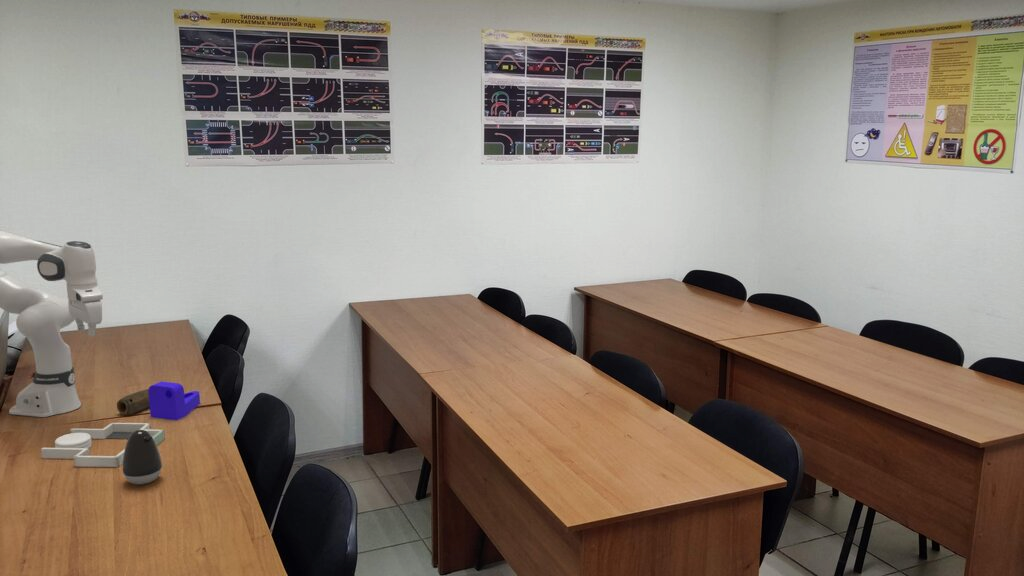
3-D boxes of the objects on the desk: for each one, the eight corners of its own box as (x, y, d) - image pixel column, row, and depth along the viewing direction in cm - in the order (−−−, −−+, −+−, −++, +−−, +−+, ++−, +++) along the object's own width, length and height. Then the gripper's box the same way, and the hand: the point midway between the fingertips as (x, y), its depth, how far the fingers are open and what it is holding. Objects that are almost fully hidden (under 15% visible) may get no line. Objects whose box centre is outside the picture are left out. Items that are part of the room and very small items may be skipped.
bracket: (176, 420, 277) (174, 387, 275) (150, 417, 280) (147, 384, 278) (210, 404, 294) (208, 372, 292) (185, 400, 297) (183, 370, 295)
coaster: (99, 444, 256) (98, 434, 255) (73, 456, 247) (71, 445, 246) (74, 440, 259) (73, 430, 259) (48, 452, 250) (46, 441, 249)
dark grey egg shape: (138, 492, 223) (133, 440, 220) (116, 483, 228) (111, 432, 225) (171, 478, 231) (167, 428, 228) (148, 470, 237) (144, 421, 234)
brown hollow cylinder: (132, 418, 279) (130, 399, 278) (115, 416, 281) (114, 397, 280) (162, 404, 293) (160, 386, 292) (146, 402, 295) (144, 384, 294)
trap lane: (31, 465, 239) (29, 456, 239) (82, 430, 267) (81, 422, 266) (131, 467, 239) (130, 457, 238) (172, 432, 266) (171, 423, 266)
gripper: (61, 288, 266) (65, 329, 269) (83, 297, 252) (87, 340, 255) (81, 286, 270) (85, 326, 273) (104, 295, 256) (108, 337, 259)
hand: (86, 333), depth 264 cm, fingers open, 8 cm apart
